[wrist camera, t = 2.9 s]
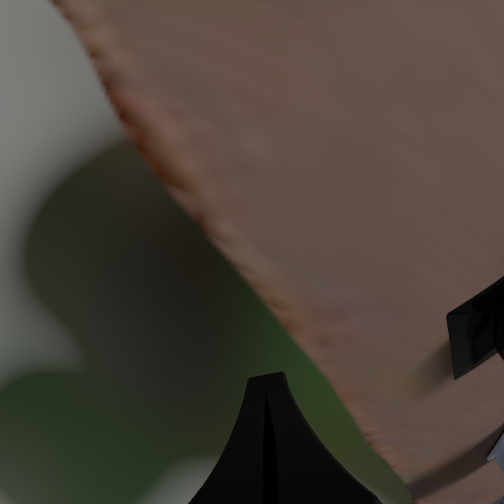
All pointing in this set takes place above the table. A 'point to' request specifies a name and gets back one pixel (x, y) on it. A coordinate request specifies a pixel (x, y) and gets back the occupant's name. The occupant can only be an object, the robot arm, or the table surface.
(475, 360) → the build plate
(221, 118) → the table surface
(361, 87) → the table surface
